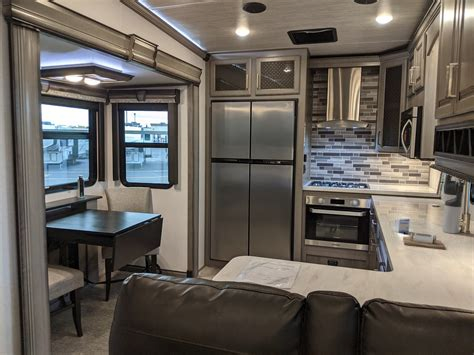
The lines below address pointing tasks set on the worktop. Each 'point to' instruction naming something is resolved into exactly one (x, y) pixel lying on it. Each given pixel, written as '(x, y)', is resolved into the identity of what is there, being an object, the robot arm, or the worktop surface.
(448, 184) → the robot arm
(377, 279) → the worktop surface
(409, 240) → the pin tray
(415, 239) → the block
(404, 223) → the medicine box
